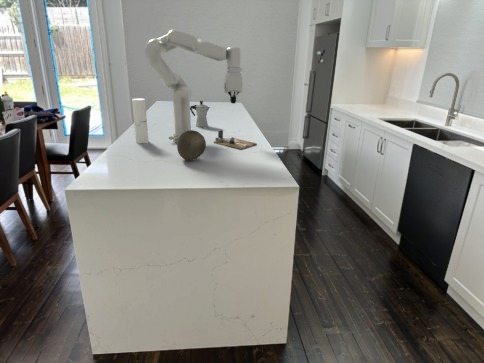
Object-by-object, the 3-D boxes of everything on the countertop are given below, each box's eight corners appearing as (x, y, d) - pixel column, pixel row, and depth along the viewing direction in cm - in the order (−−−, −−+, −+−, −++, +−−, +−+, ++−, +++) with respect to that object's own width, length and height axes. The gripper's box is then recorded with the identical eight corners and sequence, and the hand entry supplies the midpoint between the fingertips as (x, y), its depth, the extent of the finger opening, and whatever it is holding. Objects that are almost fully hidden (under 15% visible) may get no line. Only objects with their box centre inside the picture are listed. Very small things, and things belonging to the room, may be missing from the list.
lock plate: (240, 149, 191) (240, 144, 190) (213, 142, 204) (213, 137, 202) (256, 144, 202) (256, 139, 201) (230, 138, 214) (230, 133, 213)
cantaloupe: (179, 165, 164) (177, 135, 159) (176, 156, 177) (175, 128, 172) (208, 163, 168) (207, 133, 163) (203, 155, 181) (202, 127, 175)
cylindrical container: (149, 142, 201) (145, 100, 192) (136, 143, 198) (132, 100, 189) (147, 140, 207) (144, 98, 198) (135, 140, 204) (131, 98, 195)
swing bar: (235, 142, 201) (235, 132, 199) (232, 143, 199) (232, 133, 197) (220, 139, 207) (220, 129, 205) (217, 140, 205) (217, 130, 203)
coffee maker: (211, 125, 249) (211, 100, 243) (209, 127, 241) (209, 102, 234) (191, 124, 250) (190, 99, 244) (188, 127, 242) (187, 101, 236)
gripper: (242, 69, 199) (241, 101, 206) (218, 70, 193) (219, 102, 200) (248, 70, 193) (247, 103, 200) (223, 71, 187) (223, 104, 194)
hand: (233, 103), depth 200 cm, fingers closed
